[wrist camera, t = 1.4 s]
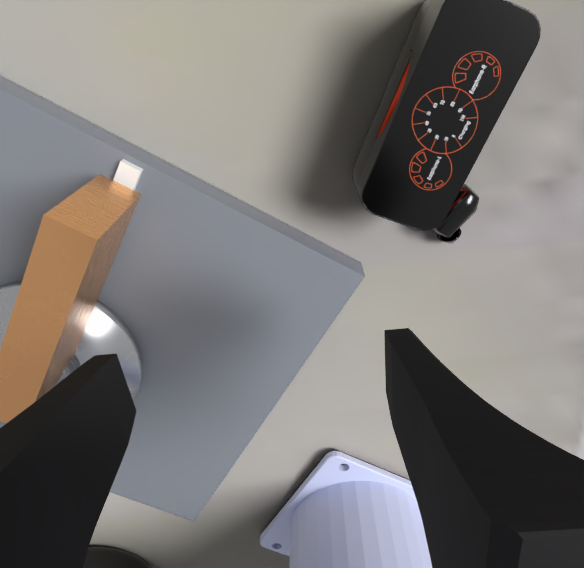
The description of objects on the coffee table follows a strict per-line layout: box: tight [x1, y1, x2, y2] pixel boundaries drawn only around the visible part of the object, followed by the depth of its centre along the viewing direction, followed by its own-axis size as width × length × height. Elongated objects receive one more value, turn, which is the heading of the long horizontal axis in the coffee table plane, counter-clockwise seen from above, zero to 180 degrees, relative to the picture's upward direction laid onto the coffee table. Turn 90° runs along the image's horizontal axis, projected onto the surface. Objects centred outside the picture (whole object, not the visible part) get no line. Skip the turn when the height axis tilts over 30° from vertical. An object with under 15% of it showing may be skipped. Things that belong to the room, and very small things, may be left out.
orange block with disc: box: [0, 174, 143, 423], centre depth 16 cm, size 12×7×4 cm, turn 151°
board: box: [0, 76, 365, 521], centre depth 20 cm, size 18×16×2 cm
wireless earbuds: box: [352, 0, 541, 243], centre depth 15 cm, size 5×7×3 cm, turn 161°
